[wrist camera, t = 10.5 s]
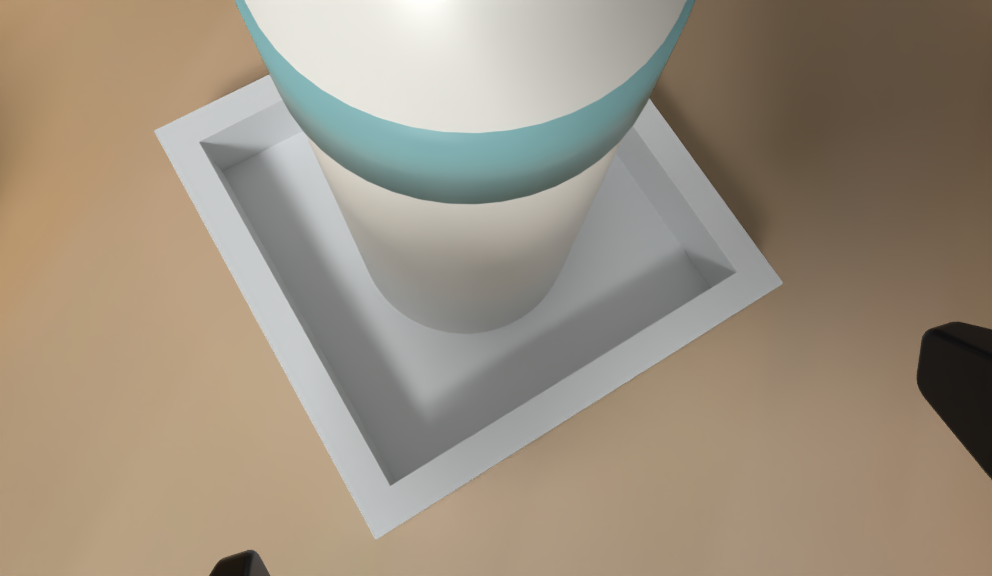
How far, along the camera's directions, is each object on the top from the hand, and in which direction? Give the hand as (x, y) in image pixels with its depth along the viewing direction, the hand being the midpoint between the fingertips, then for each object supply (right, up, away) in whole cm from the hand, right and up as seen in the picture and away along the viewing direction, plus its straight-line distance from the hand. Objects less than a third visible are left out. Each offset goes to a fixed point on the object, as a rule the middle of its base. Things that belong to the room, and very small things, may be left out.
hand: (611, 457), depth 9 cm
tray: (-2, +4, +10) cm, 11 cm away
